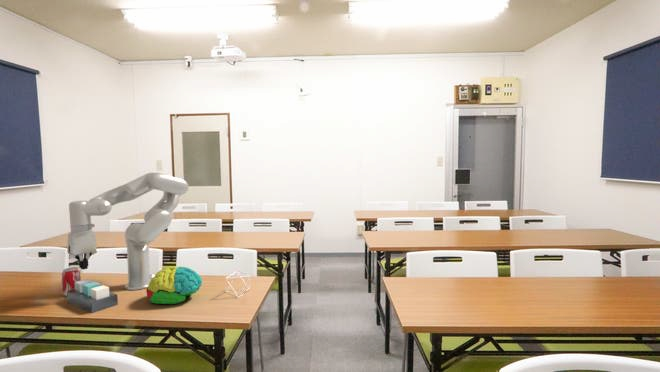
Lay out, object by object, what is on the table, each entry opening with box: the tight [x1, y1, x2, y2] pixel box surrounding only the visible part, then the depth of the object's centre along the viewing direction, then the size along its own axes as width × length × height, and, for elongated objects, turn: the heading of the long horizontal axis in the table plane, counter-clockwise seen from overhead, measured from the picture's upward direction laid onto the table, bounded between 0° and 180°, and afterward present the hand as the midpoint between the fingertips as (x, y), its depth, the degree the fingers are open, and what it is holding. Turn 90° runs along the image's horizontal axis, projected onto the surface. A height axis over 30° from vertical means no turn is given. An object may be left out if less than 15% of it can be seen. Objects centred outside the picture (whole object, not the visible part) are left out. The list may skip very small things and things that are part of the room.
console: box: [66, 289, 119, 314], centre depth 151 cm, size 10×23×5 cm, turn 58°
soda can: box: [61, 267, 81, 297], centre depth 162 cm, size 7×7×12 cm
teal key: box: [82, 281, 102, 297], centre depth 151 cm, size 5×5×5 cm
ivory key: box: [91, 285, 110, 300], centre depth 147 cm, size 5×5×5 cm
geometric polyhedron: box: [225, 270, 251, 299], centre depth 162 cm, size 12×11×9 cm
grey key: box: [75, 278, 93, 293], centre depth 155 cm, size 5×5×5 cm
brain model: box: [145, 265, 203, 305], centre depth 155 cm, size 24×19×15 cm
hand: (84, 268), depth 155 cm, fingers closed
